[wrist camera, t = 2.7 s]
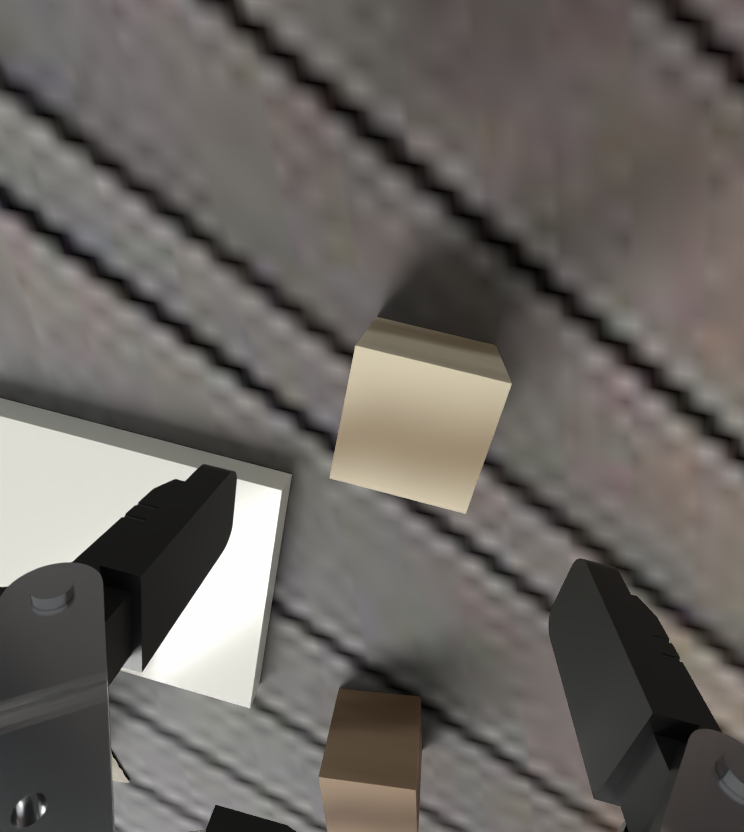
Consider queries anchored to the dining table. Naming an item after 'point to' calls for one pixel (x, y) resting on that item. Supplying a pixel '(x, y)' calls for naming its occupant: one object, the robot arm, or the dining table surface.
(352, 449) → the birch cube
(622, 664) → the robot arm
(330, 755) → the walnut cube
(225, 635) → the stone board
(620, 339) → the dining table surface
